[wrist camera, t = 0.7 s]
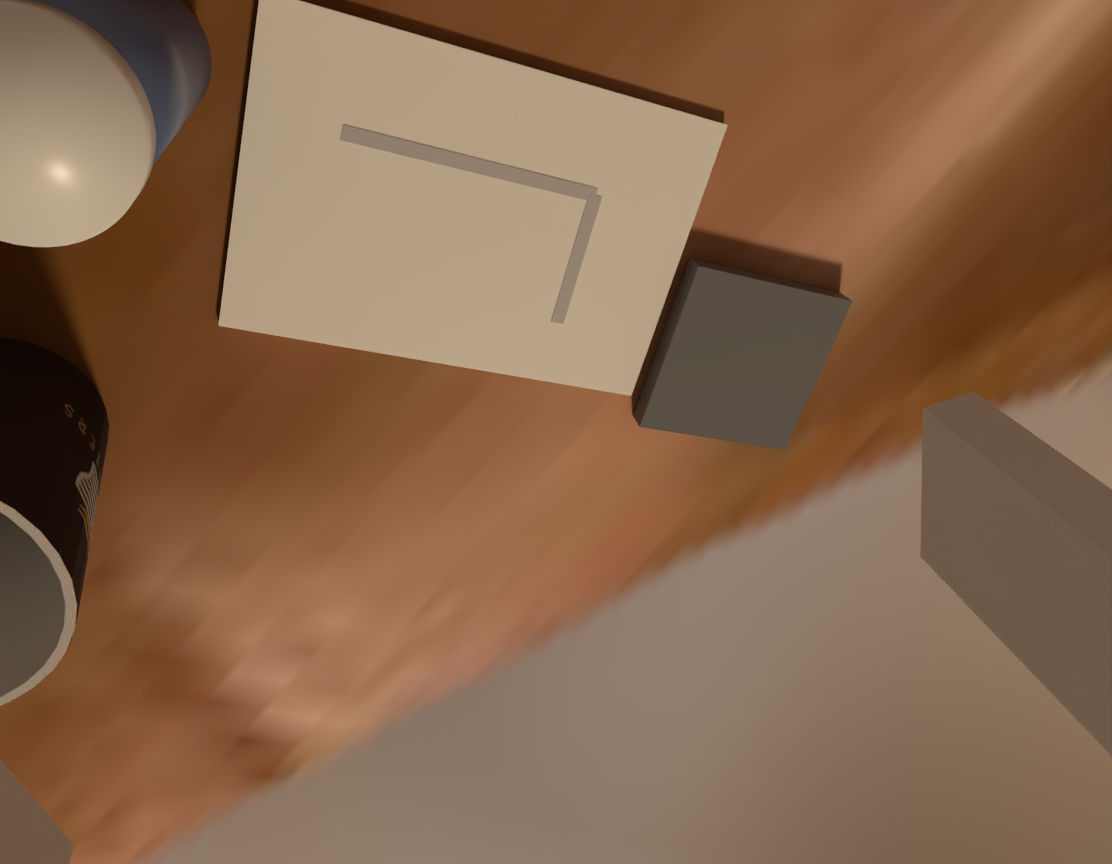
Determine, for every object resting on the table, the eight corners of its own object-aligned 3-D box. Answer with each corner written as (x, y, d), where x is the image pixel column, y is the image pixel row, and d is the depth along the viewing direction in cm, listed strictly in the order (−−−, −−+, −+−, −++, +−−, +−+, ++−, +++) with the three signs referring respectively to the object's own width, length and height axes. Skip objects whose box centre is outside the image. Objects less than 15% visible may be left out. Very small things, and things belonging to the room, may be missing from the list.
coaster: (632, 415, 37) (640, 426, 36) (689, 257, 34) (698, 266, 33) (775, 438, 39) (785, 449, 38) (840, 292, 36) (852, 301, 35)
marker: (66, 100, 27) (-116, 220, 16) (72, -51, 25) (-129, -33, 14) (212, 134, 28) (138, 267, 17) (227, -6, 26) (156, 41, 15)
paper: (219, 322, 31) (218, 325, 31) (260, -12, 27) (260, -11, 26) (629, 392, 36) (631, 396, 36) (724, 123, 32) (727, 125, 31)
